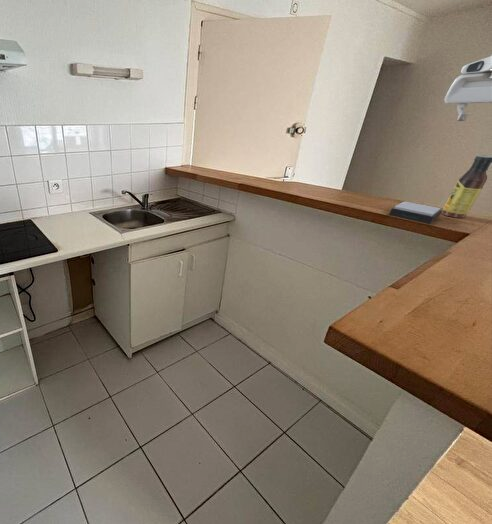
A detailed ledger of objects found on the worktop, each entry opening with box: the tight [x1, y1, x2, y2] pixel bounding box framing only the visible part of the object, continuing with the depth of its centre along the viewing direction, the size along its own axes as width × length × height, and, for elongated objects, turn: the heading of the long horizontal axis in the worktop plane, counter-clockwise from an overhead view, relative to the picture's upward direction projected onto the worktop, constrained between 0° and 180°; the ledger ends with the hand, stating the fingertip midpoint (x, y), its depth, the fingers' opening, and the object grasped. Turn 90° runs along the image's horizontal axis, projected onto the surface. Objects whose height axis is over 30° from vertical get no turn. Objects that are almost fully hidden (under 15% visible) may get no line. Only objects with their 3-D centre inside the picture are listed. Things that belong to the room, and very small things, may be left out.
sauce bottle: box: [441, 154, 492, 219], centre depth 93 cm, size 6×6×20 cm
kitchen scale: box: [389, 200, 443, 225], centre depth 97 cm, size 11×11×3 cm
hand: (482, 121), depth 80 cm, fingers open, 8 cm apart
